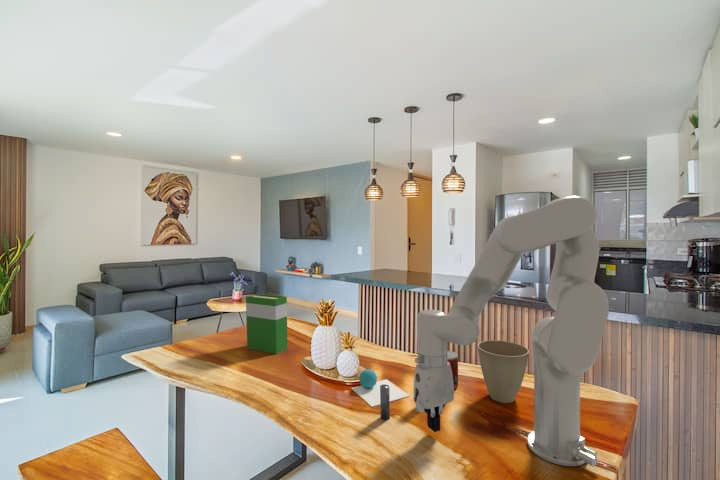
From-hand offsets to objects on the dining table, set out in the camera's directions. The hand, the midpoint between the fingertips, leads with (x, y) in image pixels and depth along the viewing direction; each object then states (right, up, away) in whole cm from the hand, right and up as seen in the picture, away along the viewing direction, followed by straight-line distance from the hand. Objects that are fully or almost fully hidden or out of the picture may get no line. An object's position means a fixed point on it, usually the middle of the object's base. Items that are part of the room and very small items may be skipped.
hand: (433, 428), depth 90 cm
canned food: (+10, -1, +28) cm, 30 cm away
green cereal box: (-62, -1, +69) cm, 92 cm away
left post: (-12, -2, +9) cm, 15 cm away
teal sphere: (-16, +2, +28) cm, 32 cm away
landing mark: (-13, -1, +24) cm, 27 cm away
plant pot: (+26, -1, +19) cm, 32 cm away
